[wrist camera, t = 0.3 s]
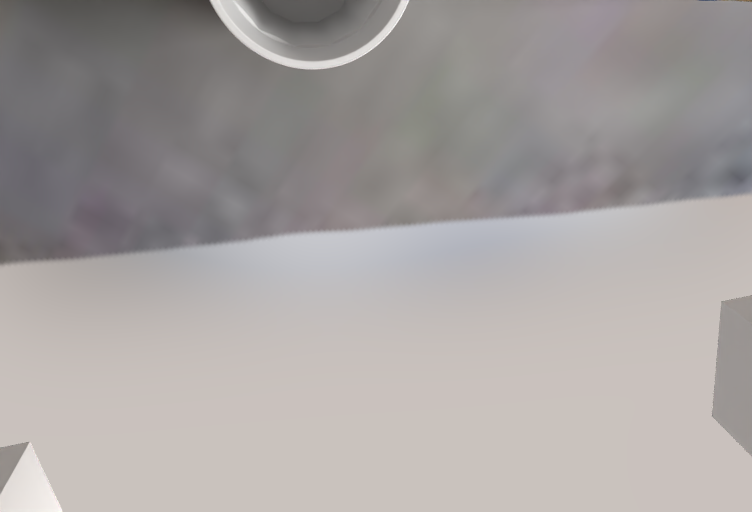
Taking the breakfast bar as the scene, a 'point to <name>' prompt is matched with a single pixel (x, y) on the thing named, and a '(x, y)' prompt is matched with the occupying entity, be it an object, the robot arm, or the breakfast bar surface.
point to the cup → (310, 28)
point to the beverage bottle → (729, 0)
